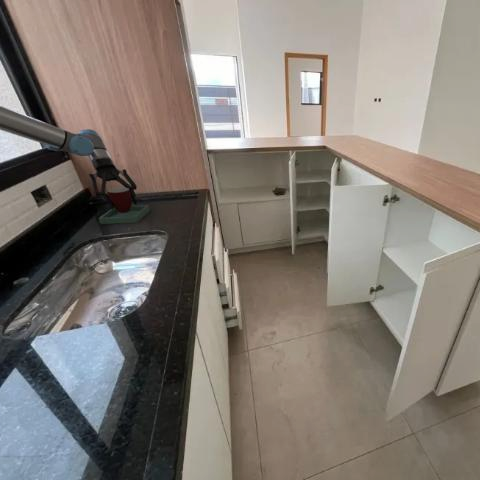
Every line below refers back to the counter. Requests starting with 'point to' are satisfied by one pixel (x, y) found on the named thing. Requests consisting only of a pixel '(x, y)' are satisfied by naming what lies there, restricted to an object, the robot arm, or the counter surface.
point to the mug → (120, 199)
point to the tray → (125, 215)
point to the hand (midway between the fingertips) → (124, 205)
